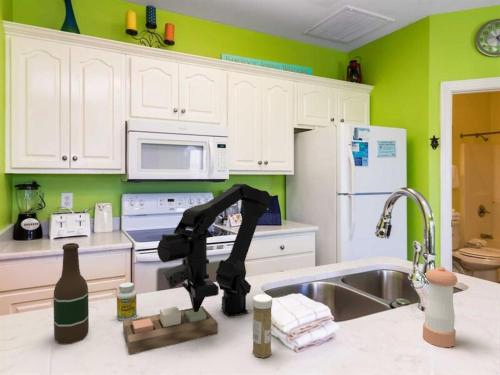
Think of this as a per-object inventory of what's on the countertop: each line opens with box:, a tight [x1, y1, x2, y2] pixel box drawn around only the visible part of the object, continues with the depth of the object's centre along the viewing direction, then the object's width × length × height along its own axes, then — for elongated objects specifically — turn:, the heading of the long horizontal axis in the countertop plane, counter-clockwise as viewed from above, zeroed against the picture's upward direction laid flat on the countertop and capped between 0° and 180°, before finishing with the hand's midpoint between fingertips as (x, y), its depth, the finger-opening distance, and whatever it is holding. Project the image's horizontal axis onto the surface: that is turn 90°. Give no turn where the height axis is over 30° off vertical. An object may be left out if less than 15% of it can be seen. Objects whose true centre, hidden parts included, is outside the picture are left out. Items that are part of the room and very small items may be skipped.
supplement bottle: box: [116, 282, 138, 322], centre depth 95 cm, size 5×5×10 cm
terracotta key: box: [132, 318, 153, 334], centre depth 83 cm, size 4×4×3 cm
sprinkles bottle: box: [252, 294, 273, 358], centre depth 77 cm, size 5×5×13 cm
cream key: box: [159, 305, 181, 327], centre depth 86 cm, size 4×4×3 cm
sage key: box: [186, 309, 206, 323], centre depth 89 cm, size 4×4×3 cm
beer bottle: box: [53, 242, 90, 345], centre depth 83 cm, size 8×8×24 cm
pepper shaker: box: [422, 266, 458, 348], centre depth 84 cm, size 7×7×19 cm
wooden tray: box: [122, 305, 219, 356], centre depth 86 cm, size 22×12×3 cm, turn 118°
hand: (195, 311), depth 89 cm, fingers closed
